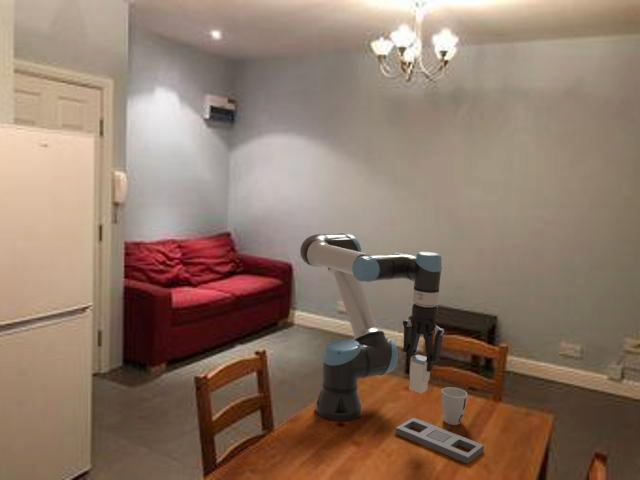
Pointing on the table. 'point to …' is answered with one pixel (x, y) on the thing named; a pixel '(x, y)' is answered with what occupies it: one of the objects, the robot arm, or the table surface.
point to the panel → (440, 440)
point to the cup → (453, 404)
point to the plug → (418, 374)
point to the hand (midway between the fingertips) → (419, 378)
